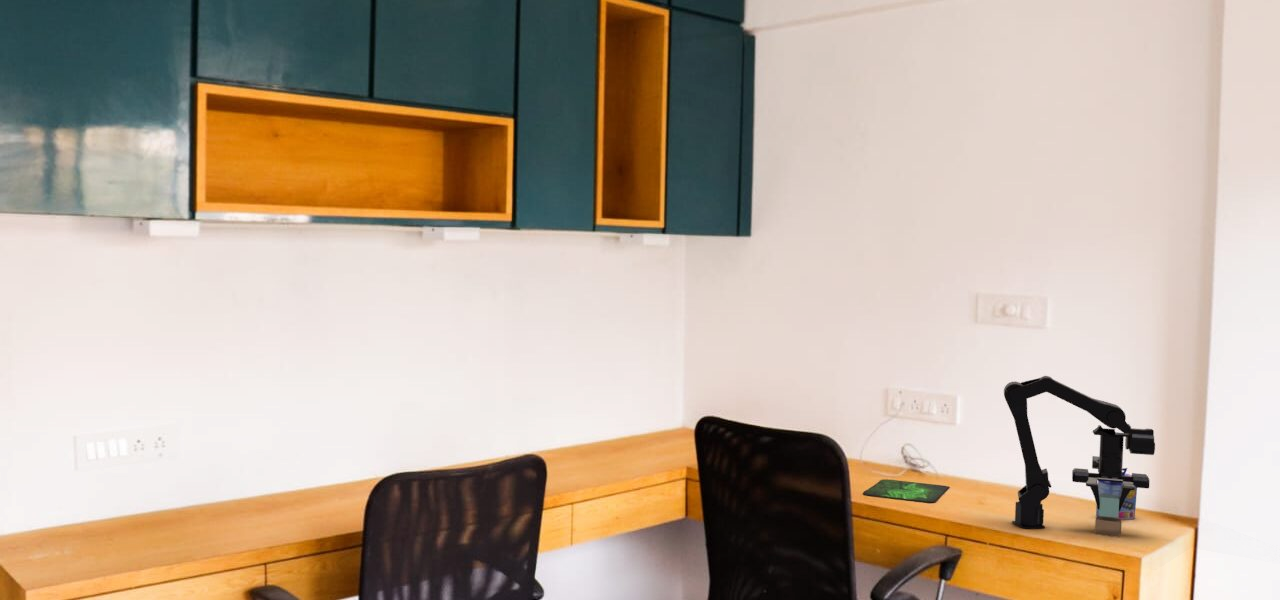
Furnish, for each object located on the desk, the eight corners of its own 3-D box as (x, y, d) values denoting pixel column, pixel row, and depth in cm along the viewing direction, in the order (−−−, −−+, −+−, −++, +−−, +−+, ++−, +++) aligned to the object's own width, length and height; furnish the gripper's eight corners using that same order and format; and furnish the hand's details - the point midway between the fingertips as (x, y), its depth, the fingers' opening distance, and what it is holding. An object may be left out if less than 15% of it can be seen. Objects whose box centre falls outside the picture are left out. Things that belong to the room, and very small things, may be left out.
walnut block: (1119, 537, 289) (1119, 522, 288) (1094, 534, 291) (1095, 519, 291) (1121, 532, 294) (1121, 518, 294) (1096, 529, 297) (1097, 515, 297)
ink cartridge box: (1109, 521, 305) (1111, 470, 304) (1094, 516, 310) (1096, 466, 310) (1136, 519, 309) (1139, 468, 308) (1121, 514, 314) (1124, 464, 313)
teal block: (1118, 517, 289) (1119, 498, 289) (1099, 515, 291) (1100, 497, 291) (1117, 513, 294) (1118, 495, 294) (1098, 511, 295) (1099, 493, 295)
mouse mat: (882, 479, 356) (882, 476, 356) (951, 487, 347) (951, 484, 347) (861, 496, 332) (861, 493, 332) (934, 505, 322) (935, 501, 322)
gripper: (1147, 450, 296) (1144, 507, 297) (1072, 444, 302) (1070, 500, 303) (1150, 457, 285) (1148, 516, 286) (1073, 451, 292) (1071, 509, 293)
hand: (1108, 510), depth 292 cm, fingers closed on teal block, 5 cm apart
